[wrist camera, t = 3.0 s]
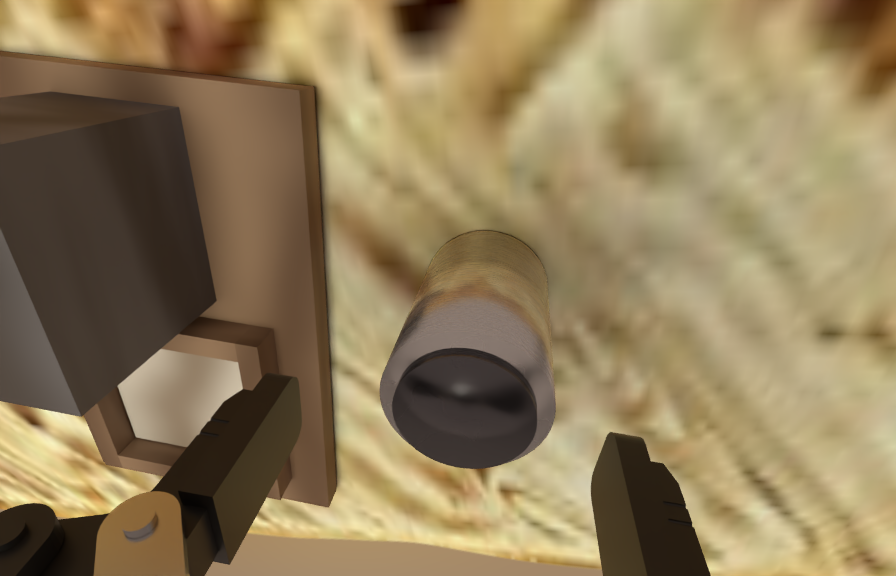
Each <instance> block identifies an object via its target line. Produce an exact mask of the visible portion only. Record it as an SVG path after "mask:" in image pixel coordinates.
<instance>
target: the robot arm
mask: <svg viewBox="0 0 896 576" xmlns="http://www.w3.org/2000/svg"><path fill="white" fill-rule="evenodd" d="M301 426H302V412H301V401H300V389H299V381H298V378H297V377H292V376H287V375H281V374H275V373H266V374H265V375H264V376H263V377H262V378H261V380H260V381H259V382H258V384H257V385H256V386H255V388H254V389H253V390H246V389H242V390H240V391H239V392H237V393H236V394H235V395H233V396H232V397H230V398H229V399H227V400H226V401H224V402H223V403H222V405H221V406H220V407H219V408H218V410H217V411H216V412H215V413H214V415H213V416H212V417H211V420H210V421H208V422H207V423H206V424H205V426H204V427H203V428H202V429H201V431H200V434H199V435H197V436H196V437H195V438H194V439H193V441H192V442H191V443H190V444H189V446H188V447H187V448H186V449H185V451H184V452H183V453H182V454H181V456H180V457H179V458H178V459H177V461H176V462H175V463H174V464H173V466H172V467H171V468H170V469H169V471H168V472H167V473H166V474H165V476H164V477H163V478H162V479H161V480H160V482H159V483H158V484H157V485H156V486H155V488H154V489H153V490H152V491H151V492H146V493H143V494H139V495H137V496H134V497H132V498H130V499H128V500H126V501H125V502H123V503H121V504H120V505H119V506H117V507H116V508H115V509H114V510H113V511H112V512H111V513H108V514H103V515H95V516H86V517H78V518H69V519H61V520H58V519H57V517H56V515H55V513H54V511H53V510H52V509H51V508H50V507H48V506H46V505H43V504H37V503H32V504H24V505H19V506H16V507H13V508H10V509H7V510H5V511H3V512H1V513H0V576H205V574H206V572H207V571H208V569H209V567H210V566H211V564H212V562H213V561H214V562H219V563H224V564H230V563H231V561H232V560H233V558H234V556H235V554H236V552H237V550H238V549H239V547H240V545H241V543H242V541H243V539H244V538H245V536H246V534H247V532H248V530H249V528H250V527H251V525H252V523H253V521H254V519H255V517H256V516H257V514H258V512H259V510H260V508H261V506H262V505H263V503H264V501H265V499H266V497H267V496H268V494H269V492H270V490H271V488H272V486H273V485H274V483H275V481H276V479H277V477H278V475H279V474H280V472H281V470H282V468H283V466H284V464H285V463H286V461H287V459H288V457H289V455H290V453H291V452H292V450H293V448H294V446H295V444H296V442H297V440H298V437H299V434H300V431H301ZM591 499H592V506H593V512H594V519H595V526H596V532H597V539H598V545H599V552H600V559H601V565H602V572H603V576H711V575H710V572H709V570H708V567H707V564H706V561H705V558H704V555H703V552H702V549H701V547H700V544H699V541H698V538H697V535H696V532H695V529H694V527H692V521H691V518H690V515H689V512H688V509H686V504H685V501H684V498H683V495H682V492H681V489H680V486H679V484H678V482H677V481H676V480H675V478H674V477H673V476H672V474H671V473H670V472H669V471H668V469H667V468H666V467H665V465H664V464H663V463H657V462H651V461H650V458H649V454H648V451H647V448H646V444H645V442H644V440H643V439H642V438H641V437H636V436H630V435H624V434H619V433H613V432H610V433H609V434H608V435H607V437H606V440H605V442H604V445H603V448H602V450H601V453H600V456H599V458H598V461H597V463H596V466H595V469H594V471H593V475H592V481H591Z"/></svg>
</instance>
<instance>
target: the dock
mask: <svg viewBox="0 0 896 576" xmlns="http://www.w3.org/2000/svg"><path fill="white" fill-rule="evenodd" d="M266 373H275V374H281V375H287V376H292V377H297V378H298V381H299V389H300V401H301V412H302V426H301V431H300V434H299V437H298V440H297V442H296V444H295V446H294V448H293V450H292V452H291V453H290V455H289V457H288V459H287V461H286V463H285V464H284V466H283V468H282V470H281V472H280V474H279V475H278V477H277V479H276V481H275V483H274V485H273V486H272V488H271V490H270V492H269V494H268V496H267V497H268V498H273V499H278V500H281V498H284V499H289V500H294V501H299V502H304V503H309V504H314V505H319V506H324V507H329V506H330V504H331V501H332V499H333V496H334V494H335V492H336V471H335V453H334V435H333V418H332V400H331V382H330V364H329V346H328V328H327V310H326V292H325V274H324V256H323V238H322V220H321V202H320V184H319V166H318V148H317V130H316V112H315V94H314V87H312V86H303V85H295V84H286V83H277V82H268V81H259V80H251V79H242V78H233V77H224V76H215V75H207V74H198V73H189V72H180V71H171V70H163V69H154V68H145V67H136V66H127V65H119V64H110V63H101V62H92V61H83V60H75V59H66V58H57V57H48V56H39V55H31V54H22V53H13V52H4V51H0V401H3V402H8V403H13V404H19V405H24V406H29V407H34V408H39V409H44V410H50V411H55V412H60V413H65V414H70V415H75V416H81V417H82V416H83V415H84V417H85V419H86V421H87V424H88V426H89V428H90V431H91V433H92V435H93V438H94V440H95V442H96V445H97V447H98V450H99V452H100V454H101V457H102V459H103V461H104V462H105V463H106V465H110V466H115V467H120V468H125V469H130V470H135V471H140V472H145V473H150V474H155V475H160V476H165V474H166V473H167V472H168V471H169V469H170V468H171V467H172V466H173V464H174V463H175V462H176V461H177V459H178V458H179V457H180V456H181V454H182V453H183V452H184V451H185V449H186V448H187V447H188V446H189V444H190V443H191V442H192V441H193V439H194V438H195V437H196V436H197V435H199V434H200V431H201V429H202V428H203V427H204V426H205V424H206V423H207V422H208V421H210V420H211V417H212V416H213V415H214V413H215V412H216V411H217V410H218V408H219V407H220V406H221V405H222V403H223V402H224V401H226V400H227V399H229V398H230V397H232V396H233V395H235V394H236V393H237V392H239V391H240V390H242V389H246V390H253V389H254V388H255V386H256V385H257V384H258V382H259V381H260V380H261V378H262V377H263V376H264V375H265V374H266Z"/></svg>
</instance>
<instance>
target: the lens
mask: <svg viewBox="0 0 896 576" xmlns="http://www.w3.org/2000/svg"><path fill="white" fill-rule="evenodd" d="M380 400H381V404H382V408H383V410H384V413H385V415H386V417H387V419H388V421H389V422H390V424H391V425H392V427H393V428H394V429H395V431H396V432H397V433H398V434H399V435H400V436H401V437H402V438H403V439H404V440H405V441H407V442H408V443H409V444H410V445H412V446H413V447H414V448H415V449H416V450H418V451H419V452H421V453H422V454H424V455H425V456H427V457H429V458H431V459H433V460H435V461H438V462H440V463H443V464H446V465H450V466H454V467H460V468H470V469H479V468H489V467H494V466H498V465H501V464H504V463H508V462H511V461H514V460H516V459H519V458H521V457H523V456H525V455H527V454H528V453H530V452H531V451H533V450H534V449H535V448H536V447H537V446H538V445H540V444H541V443H542V441H543V440H544V439H545V438H546V436H547V435H548V433H549V431H550V430H551V427H552V425H553V422H554V418H555V412H556V403H555V388H554V374H553V359H552V345H551V330H550V316H549V301H548V287H547V278H546V273H545V270H544V268H543V266H542V263H541V261H540V260H539V258H538V257H537V256H536V254H535V253H534V252H533V251H532V250H531V249H530V248H529V247H528V246H526V245H525V244H524V243H522V242H521V241H519V240H518V239H516V238H514V237H511V236H509V235H506V234H503V233H499V232H493V231H476V232H470V233H466V234H463V235H460V236H458V237H456V238H454V239H452V240H451V241H449V242H447V243H446V244H445V245H444V246H443V247H441V249H440V250H439V251H438V252H437V253H436V255H435V256H434V258H433V259H432V261H431V264H430V266H429V268H428V270H427V273H426V275H425V277H424V280H423V282H422V284H421V287H420V289H419V291H418V293H417V296H416V298H415V300H414V303H413V305H412V307H411V310H410V312H409V314H408V317H407V319H406V321H405V323H404V326H403V328H402V330H401V333H400V335H399V337H398V340H397V342H396V344H395V347H394V349H393V351H392V353H391V356H390V358H389V360H388V363H387V365H386V367H385V370H384V372H383V375H382V378H381V382H380Z"/></svg>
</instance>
